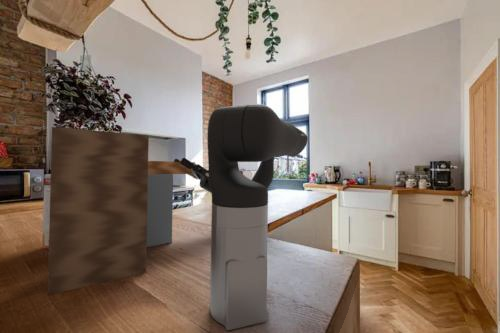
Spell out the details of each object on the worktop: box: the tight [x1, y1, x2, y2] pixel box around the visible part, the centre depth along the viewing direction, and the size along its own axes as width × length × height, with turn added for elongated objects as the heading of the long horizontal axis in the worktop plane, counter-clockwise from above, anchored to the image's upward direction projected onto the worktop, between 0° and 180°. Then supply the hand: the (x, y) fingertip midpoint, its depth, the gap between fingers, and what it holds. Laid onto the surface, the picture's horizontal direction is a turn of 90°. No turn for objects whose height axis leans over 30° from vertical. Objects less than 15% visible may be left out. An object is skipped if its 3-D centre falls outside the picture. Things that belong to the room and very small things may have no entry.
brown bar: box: [148, 160, 196, 175], centre depth 70 cm, size 24×4×4 cm, turn 124°
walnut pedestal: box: [47, 126, 150, 296], centre depth 48 cm, size 16×10×30 cm, turn 124°
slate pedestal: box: [146, 174, 174, 248], centre depth 68 cm, size 16×10×21 cm, turn 124°
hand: (177, 160), depth 74 cm, fingers open, 8 cm apart
